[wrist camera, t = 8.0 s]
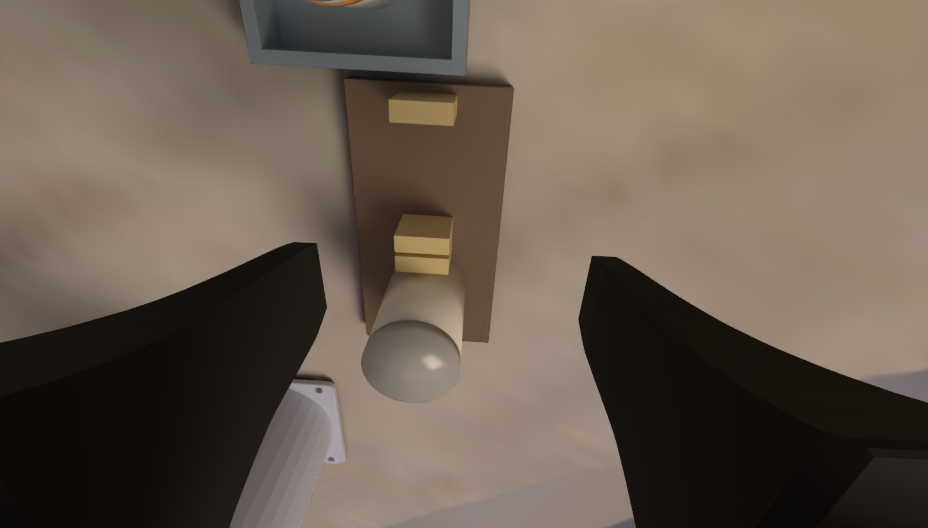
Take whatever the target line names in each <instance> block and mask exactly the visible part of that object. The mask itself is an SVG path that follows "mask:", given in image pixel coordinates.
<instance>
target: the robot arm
mask: <svg viewBox="0 0 928 528" xmlns="http://www.w3.org/2000/svg"><path fill="white" fill-rule="evenodd" d="M326 309H327V305H326V298H325V292H324V286H323V280H322V273H321V267H320V261H319V255H318V248H317V243H301V242H293V243H289V244H286V245H284V246H281V247H279V248H276V249H274V250H272V251H270V252H267V253H265V254H263V255H261V256H259V257H257V258H254V259H252V260H250V261H248V262H246V263H244V264H242V265H240V266H237V267H235V268H233V269H231V270H229V271H227V272H224V273H222V274H220V275H217V276H215V277H213V278H211V279H208V280H206V281H204V282H201V283H199V284H197V285H194V286H192V287H190V288H187V289H185V290H182V291H180V292H177V293H175V294H172V295H169V296H167V297H164V298H161V299H159V300H156V301H153V302H150V303H147V304H144V305H141V306H138V307H135V308H132V309H129V310H126V311H123V312H119V313H116V314H112V315H109V316H105V317H102V318H98V319H95V320H91V321H88V322H84V323H81V324H77V325H74V326H70V327H66V328H62V329H59V330H54V331H50V332H46V333H42V334H38V335H33V336H29V337H25V338H20V339H15V340H11V341H6V342H1V343H0V528H300V527H301V524H302V521H303V519H304V516H305V513H306V511H307V508H308V505H309V502H310V500H311V497H312V494H313V491H314V489H315V486H316V483H317V480H318V478H319V475H320V472H321V470H322V467H323V464H324V463H336V464H341V463H343V462H344V461H345V458H346V453H345V446H344V439H343V433H342V426H341V419H340V412H339V406H338V399H337V392H336V387H335V385H334V384H333V383H332V382H329V381H315V380H299V379H294V378H295V376H296V374H297V372H298V370H299V369H300V367H301V365H302V363H303V361H304V359H305V358H306V356H307V354H308V352H309V350H310V348H311V346H312V345H313V343H314V341H315V339H316V336H317V334H318V331H319V329H320V326H321V323H322V320H323V317H324V315H325V312H326ZM578 320H579V325H580V331H581V336H582V341H583V346H584V350H585V354H586V357H587V360H588V363H589V365H590V368H591V371H592V374H593V377H594V380H595V382H596V385H597V388H598V391H599V393H600V396H601V399H602V402H603V404H604V407H605V410H606V413H607V415H608V418H609V421H610V424H611V427H612V430H613V433H614V436H615V440H616V443H617V447H618V451H619V455H620V459H621V463H622V467H623V471H624V476H625V480H626V484H627V489H628V493H629V497H630V502H631V507H632V511H633V516H634V521H635V525H636V528H928V403H927V402H924V401H920V400H917V399H913V398H910V397H907V396H904V395H900V394H897V393H894V392H891V391H888V390H885V389H882V388H880V387H876V386H874V385H871V384H868V383H865V382H862V381H859V380H856V379H853V378H850V377H847V376H845V375H842V374H839V373H837V372H834V371H831V370H829V369H826V368H823V367H821V366H818V365H816V364H813V363H811V362H808V361H806V360H803V359H801V358H799V357H796V356H794V355H791V354H789V353H786V352H784V351H782V350H779V349H777V348H775V347H773V346H770V345H768V344H766V343H764V342H761V341H759V340H757V339H755V338H753V337H751V336H749V335H747V334H745V333H743V332H741V331H739V330H737V329H735V328H733V327H731V326H729V325H727V324H725V323H723V322H721V321H719V320H718V319H716V318H714V317H712V316H711V315H709V314H707V313H705V312H704V311H702V310H700V309H698V308H697V307H695V306H693V305H692V304H690V303H688V302H687V301H685V300H683V299H682V298H680V297H679V296H677V295H675V294H674V293H672V292H671V291H669V290H668V289H666V288H665V287H663V286H661V285H660V284H658V283H657V282H655V281H654V280H652V279H651V278H649V277H648V276H646V275H645V274H643V273H642V272H640V271H639V270H637V269H636V268H634V267H633V266H631V265H629V264H628V263H626V262H624V261H623V260H621V259H619V258H617V257H606V256H592V258H591V263H590V267H589V272H588V277H587V282H586V286H585V291H584V296H583V300H582V305H581V310H580V314H579V319H578ZM320 388H321V389H320Z"/></svg>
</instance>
